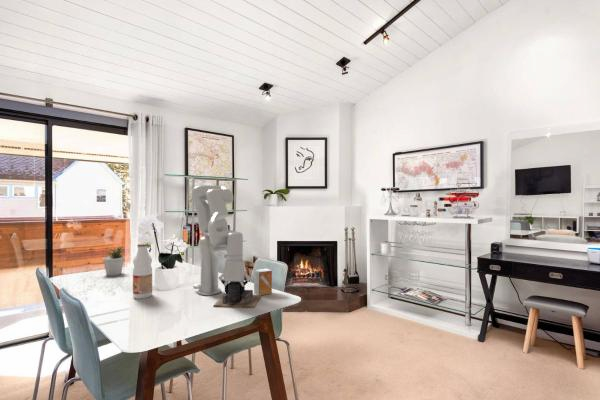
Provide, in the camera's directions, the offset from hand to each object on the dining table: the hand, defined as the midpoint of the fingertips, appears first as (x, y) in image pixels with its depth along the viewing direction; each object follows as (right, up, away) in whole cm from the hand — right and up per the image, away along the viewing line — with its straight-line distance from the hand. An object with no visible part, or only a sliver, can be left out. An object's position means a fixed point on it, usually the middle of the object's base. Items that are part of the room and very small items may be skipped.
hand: (234, 293), depth 168 cm
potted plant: (-94, -5, +65) cm, 114 cm away
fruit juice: (-52, -6, +15) cm, 54 cm away
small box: (+12, -6, +21) cm, 24 cm away
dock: (+1, -6, +6) cm, 9 cm away
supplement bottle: (0, -4, 0) cm, 4 cm away
